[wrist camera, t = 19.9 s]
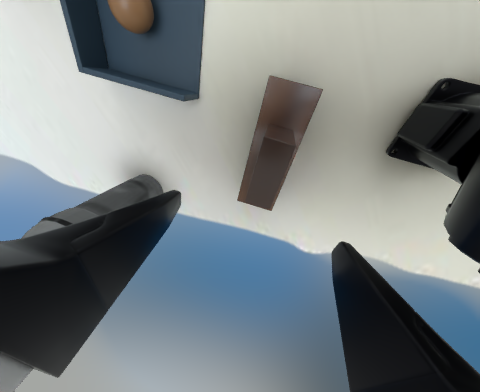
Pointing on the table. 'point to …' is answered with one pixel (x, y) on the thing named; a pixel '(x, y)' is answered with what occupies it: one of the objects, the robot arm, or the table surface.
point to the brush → (276, 139)
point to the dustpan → (140, 46)
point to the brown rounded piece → (133, 14)
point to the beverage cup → (101, 204)
